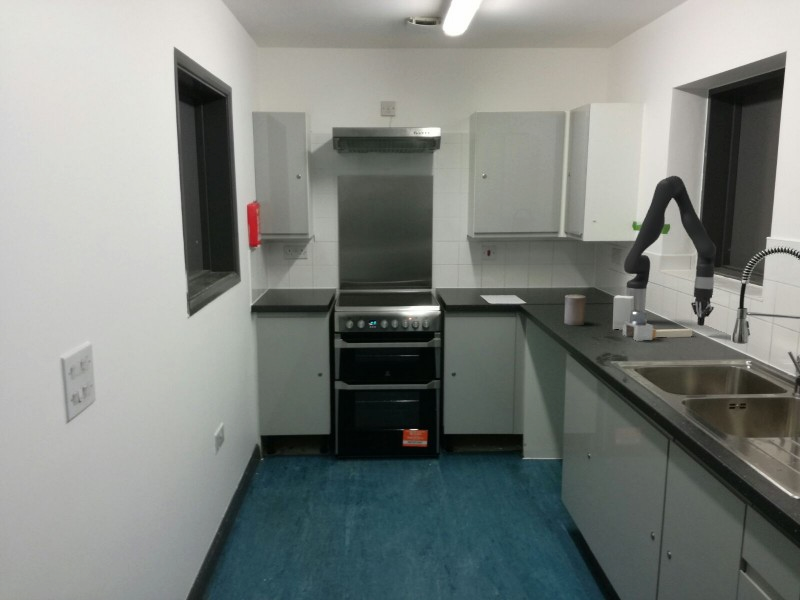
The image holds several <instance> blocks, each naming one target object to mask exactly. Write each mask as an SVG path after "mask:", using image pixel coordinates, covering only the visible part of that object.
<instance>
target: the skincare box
mask: <svg viewBox="0 0 800 600" xmlns="http://www.w3.org/2000/svg"><path fill="white" fill-rule="evenodd" d="M632 310H634V296H626V295H620V294H619V295H615V296H614V297H613V310H612V311H613V313H612V330H614V329H619V330H618V331H623V320H630V311H632Z"/></svg>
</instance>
